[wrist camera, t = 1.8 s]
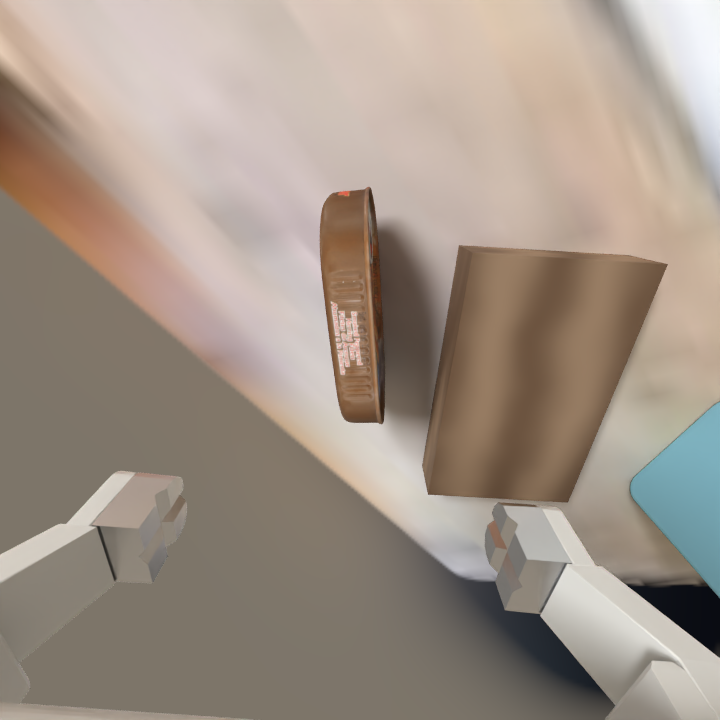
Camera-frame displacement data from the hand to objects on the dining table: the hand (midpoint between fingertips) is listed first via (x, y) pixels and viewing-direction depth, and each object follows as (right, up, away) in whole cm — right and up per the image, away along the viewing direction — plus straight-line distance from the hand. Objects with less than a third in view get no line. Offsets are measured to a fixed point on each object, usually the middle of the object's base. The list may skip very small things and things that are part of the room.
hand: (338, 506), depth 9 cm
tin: (+1, +8, +18) cm, 20 cm away
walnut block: (+13, +3, +20) cm, 24 cm away
